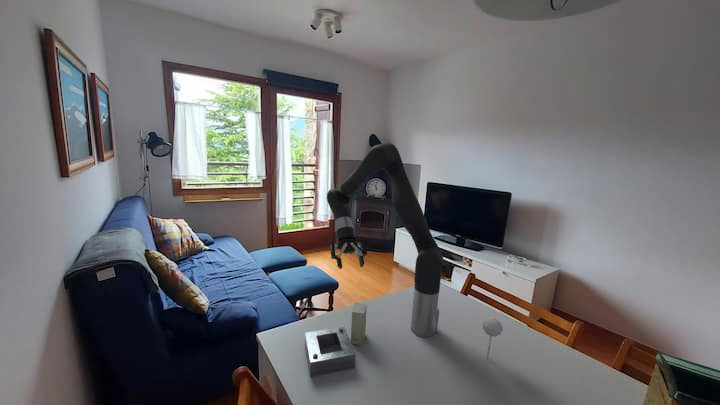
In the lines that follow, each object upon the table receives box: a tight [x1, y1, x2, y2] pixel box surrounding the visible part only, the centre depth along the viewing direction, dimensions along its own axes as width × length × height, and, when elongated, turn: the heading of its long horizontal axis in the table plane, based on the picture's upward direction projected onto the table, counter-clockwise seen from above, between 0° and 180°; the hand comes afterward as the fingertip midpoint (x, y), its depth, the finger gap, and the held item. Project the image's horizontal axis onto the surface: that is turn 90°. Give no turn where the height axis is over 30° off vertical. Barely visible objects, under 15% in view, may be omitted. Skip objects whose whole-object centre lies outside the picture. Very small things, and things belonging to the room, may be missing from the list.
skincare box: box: [350, 302, 368, 346], centre depth 99 cm, size 6×4×12 cm
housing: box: [304, 326, 357, 378], centre depth 91 cm, size 14×14×5 cm
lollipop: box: [481, 316, 504, 360], centre depth 93 cm, size 6×6×15 cm
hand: (351, 267), depth 107 cm, fingers open, 8 cm apart
